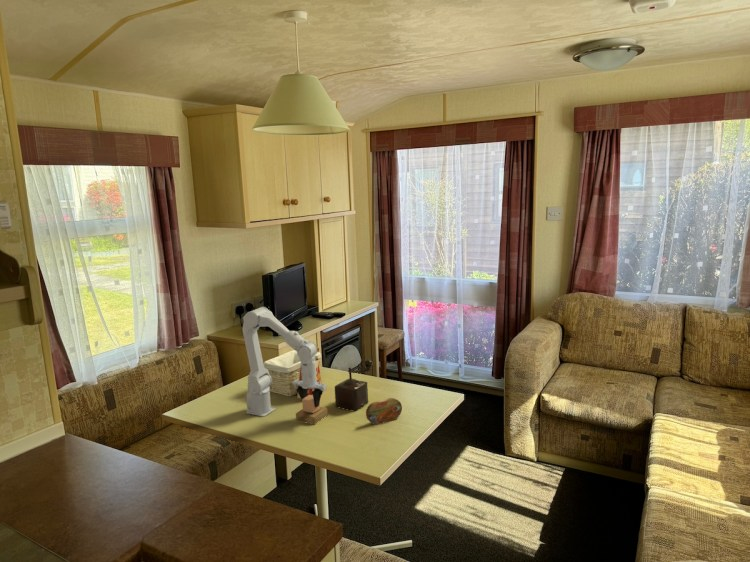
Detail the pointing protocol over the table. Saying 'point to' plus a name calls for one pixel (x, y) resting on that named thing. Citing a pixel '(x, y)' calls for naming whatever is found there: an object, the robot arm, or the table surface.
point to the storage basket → (285, 372)
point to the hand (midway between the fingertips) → (311, 405)
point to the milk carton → (316, 376)
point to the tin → (383, 410)
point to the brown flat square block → (311, 415)
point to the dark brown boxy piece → (352, 391)
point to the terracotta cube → (309, 404)
